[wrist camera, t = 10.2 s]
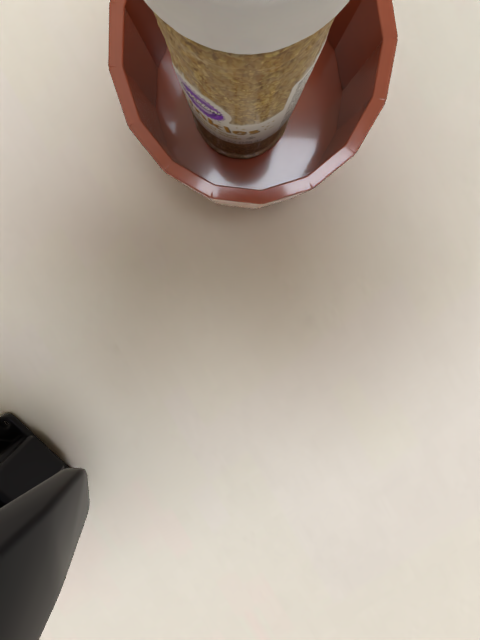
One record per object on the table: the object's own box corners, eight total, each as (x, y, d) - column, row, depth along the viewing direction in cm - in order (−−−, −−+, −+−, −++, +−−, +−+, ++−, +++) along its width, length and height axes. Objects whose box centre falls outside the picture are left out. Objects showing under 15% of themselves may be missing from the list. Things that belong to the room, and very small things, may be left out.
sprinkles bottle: (178, 136, 17) (-7, -121, 4) (216, 31, 16) (117, -726, 3) (267, 177, 18) (338, 58, 5) (309, 79, 17) (548, -418, 4)
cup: (233, 246, 19) (231, 255, 14) (107, 86, 17) (47, 26, 12) (386, 120, 18) (449, 77, 12) (266, -69, 16) (279, -218, 10)
